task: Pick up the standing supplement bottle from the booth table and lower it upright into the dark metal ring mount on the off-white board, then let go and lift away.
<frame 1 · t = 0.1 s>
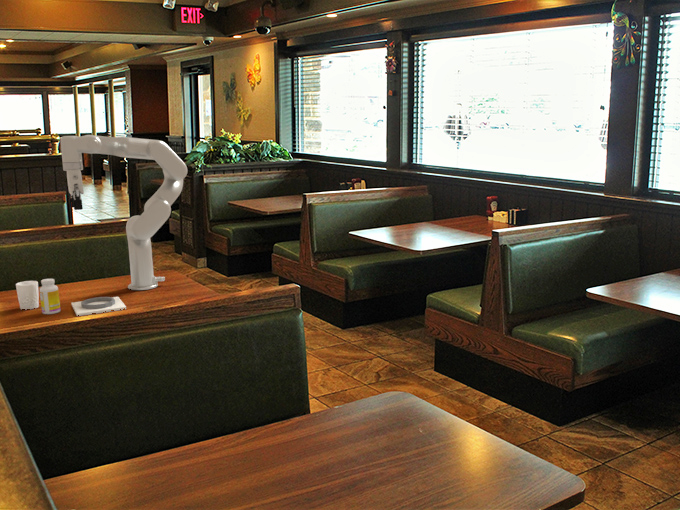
hand: (76, 208, 274), 37 cm above the table, tool pointing down, fingers open, 9 cm apart
supplement bottle: (51, 312, 255), on the table
mount board: (98, 307, 261), on the table
white cup: (29, 308, 262), on the table
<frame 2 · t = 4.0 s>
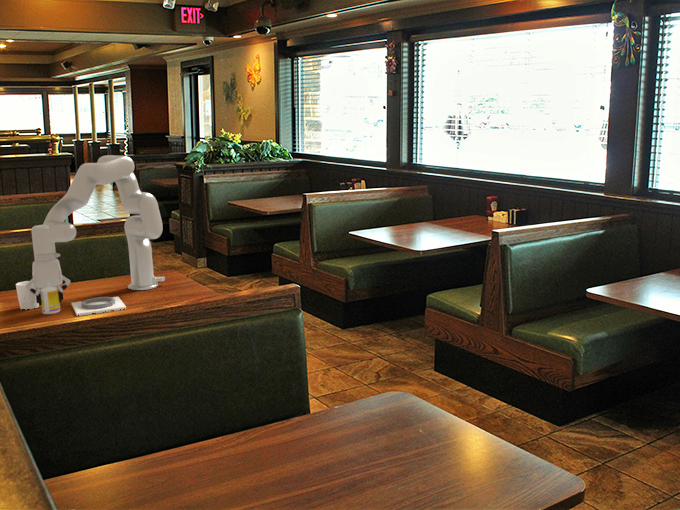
hand: (50, 302, 254), 4 cm above the table, tool pointing down, fingers closed on supplement bottle, 6 cm apart
supplement bottle: (51, 312, 255), on the table, touching gripper
everything else where it was.
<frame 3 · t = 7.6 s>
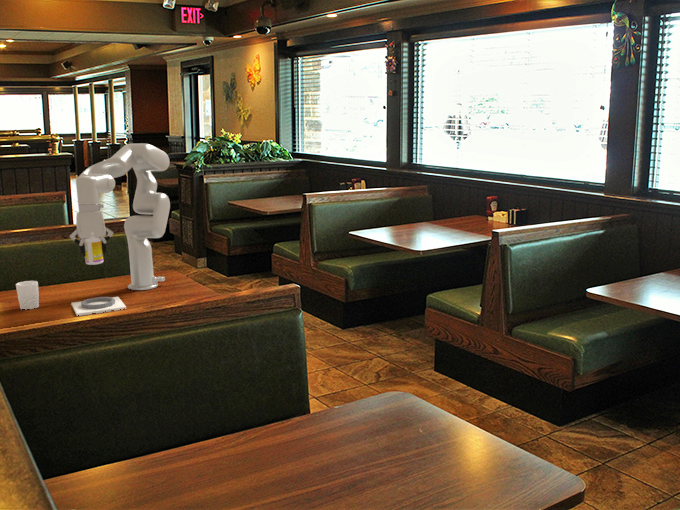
hand: (93, 253, 257), 21 cm above the table, tool pointing down, fingers closed on supplement bottle, 6 cm apart
supplement bottle: (94, 263, 258), point 17 cm above the table, touching gripper
everything else where it was.
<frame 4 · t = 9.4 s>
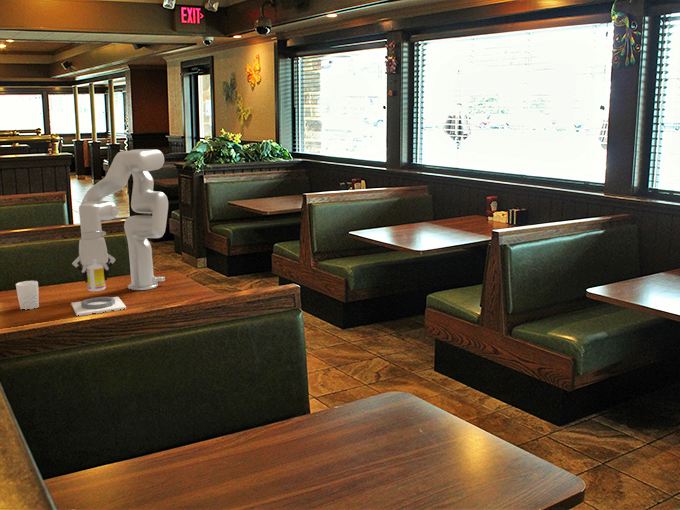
hand: (95, 280, 259), 11 cm above the table, tool pointing down, fingers closed on supplement bottle, 6 cm apart
supplement bottle: (96, 290, 259), point 7 cm above the table, touching gripper
everything else where it was.
when the fingers open (7 cm above the table, at t = 11.2 s): supplement bottle drops 2 cm, resting on mount board.
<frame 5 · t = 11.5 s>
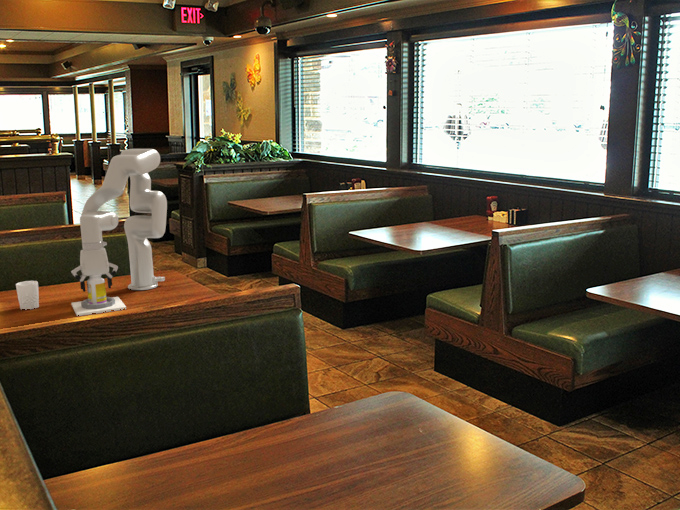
hand: (96, 289, 260), 7 cm above the table, tool pointing down, fingers open, 9 cm apart
supplement bottle: (97, 304, 261), point 1 cm above the table, touching mount board
everything else where it was.
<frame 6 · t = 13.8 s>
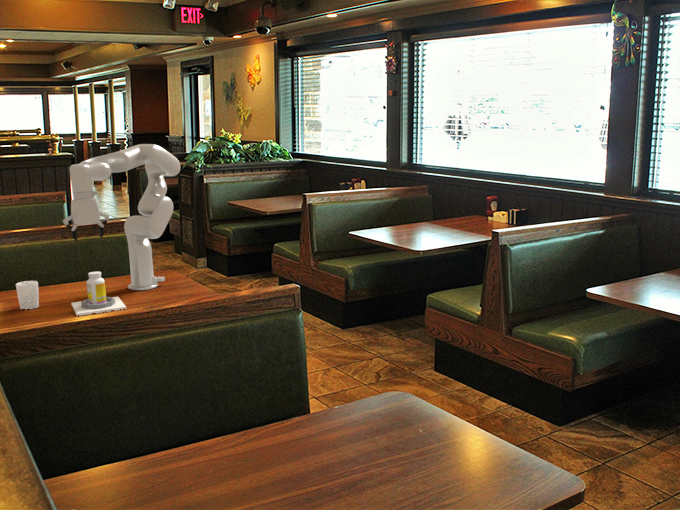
hand: (88, 238, 263), 26 cm above the table, tool pointing down, fingers open, 9 cm apart
nothing on the table moved.
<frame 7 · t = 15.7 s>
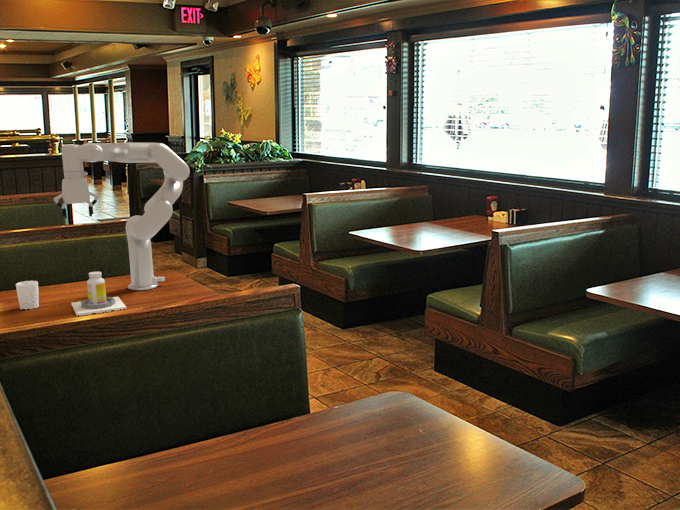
hand: (78, 217, 273), 33 cm above the table, tool pointing down, fingers open, 9 cm apart
nothing on the table moved.
at the end: supplement bottle 0.3 cm off-centre on the mount board, point 0.8 cm above the mount board's base; supplement bottle tilted 1°; the gripper is holding nothing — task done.
